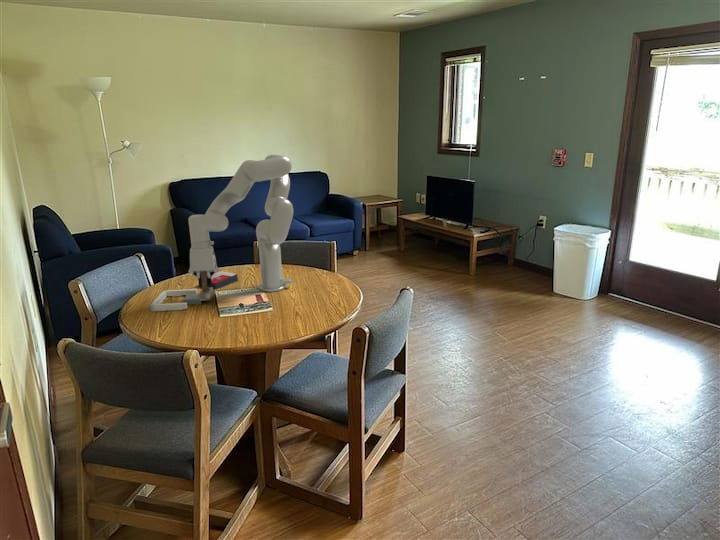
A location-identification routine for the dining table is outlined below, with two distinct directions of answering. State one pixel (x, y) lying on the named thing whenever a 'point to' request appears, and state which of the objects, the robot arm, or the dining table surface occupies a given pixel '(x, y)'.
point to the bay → (171, 306)
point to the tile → (192, 299)
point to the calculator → (222, 279)
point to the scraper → (205, 288)
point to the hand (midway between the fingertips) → (205, 286)
